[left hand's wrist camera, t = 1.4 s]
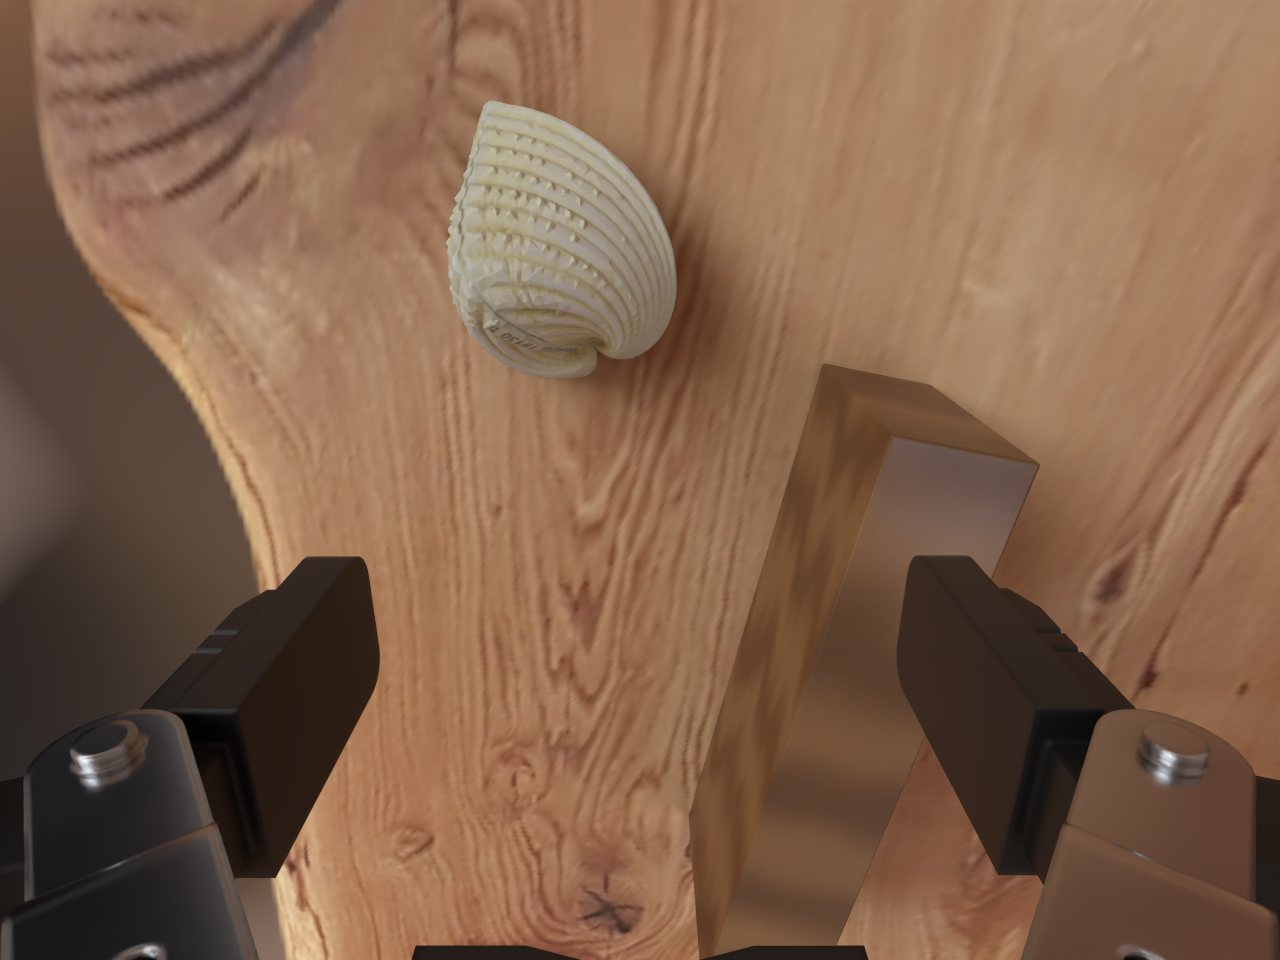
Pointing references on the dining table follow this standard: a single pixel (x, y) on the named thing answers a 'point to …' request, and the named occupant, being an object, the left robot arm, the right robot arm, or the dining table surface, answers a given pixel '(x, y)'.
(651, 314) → the seashell
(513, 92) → the dining table surface
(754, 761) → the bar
